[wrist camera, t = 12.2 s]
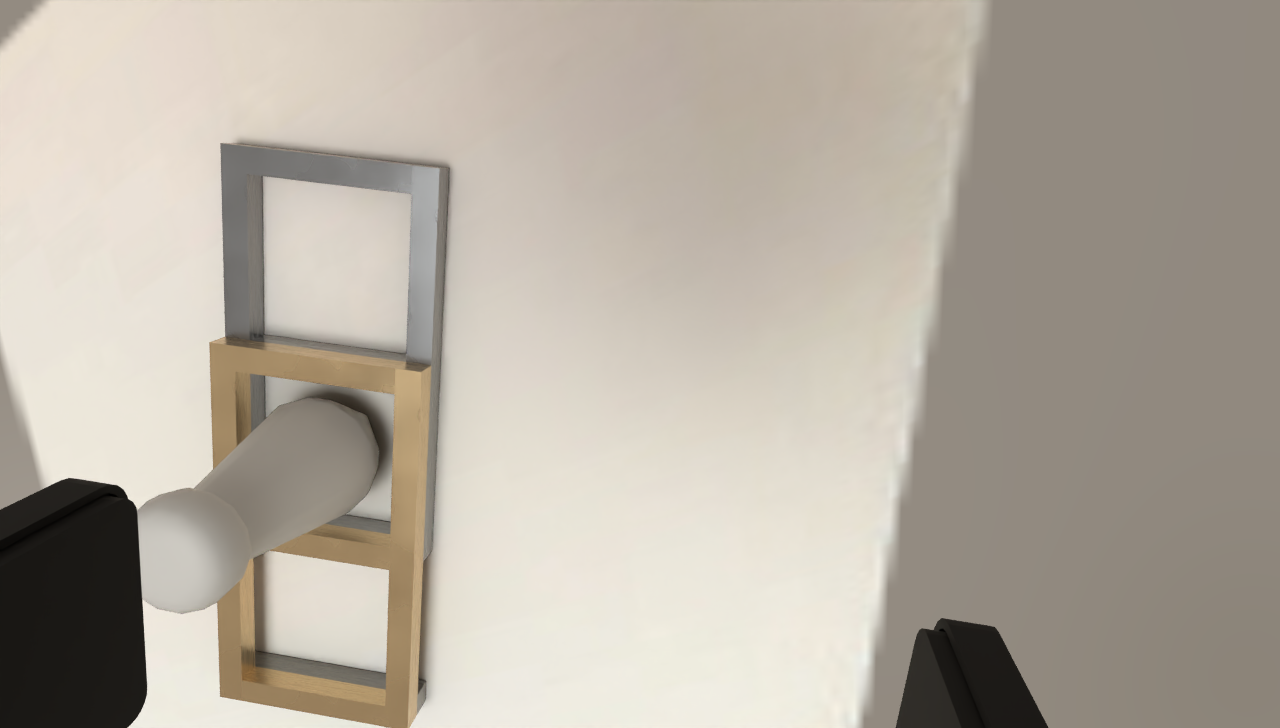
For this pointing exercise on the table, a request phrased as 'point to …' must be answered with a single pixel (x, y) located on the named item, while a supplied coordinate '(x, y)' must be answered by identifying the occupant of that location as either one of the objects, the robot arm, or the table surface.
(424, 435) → the gold rectangular frame
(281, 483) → the salt shaker
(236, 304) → the grey rectangular frame
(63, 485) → the robot arm
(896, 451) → the table surface
